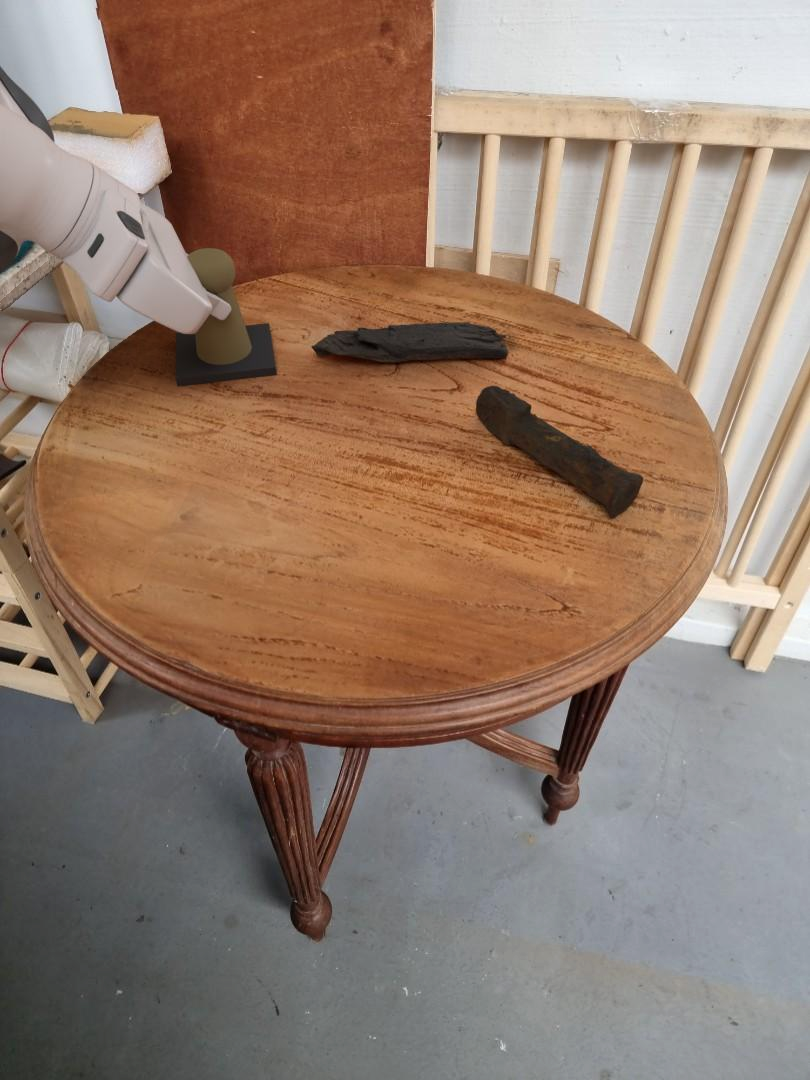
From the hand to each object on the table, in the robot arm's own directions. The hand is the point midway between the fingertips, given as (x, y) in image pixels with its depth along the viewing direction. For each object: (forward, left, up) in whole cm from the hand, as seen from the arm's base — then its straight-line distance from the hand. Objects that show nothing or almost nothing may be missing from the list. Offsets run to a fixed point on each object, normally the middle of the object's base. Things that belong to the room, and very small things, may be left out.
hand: (220, 299), depth 81 cm
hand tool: (+28, -24, -7) cm, 38 cm away
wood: (+20, -3, -7) cm, 21 cm away
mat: (-1, 0, -7) cm, 7 cm away
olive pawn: (-1, 0, -6) cm, 6 cm away
